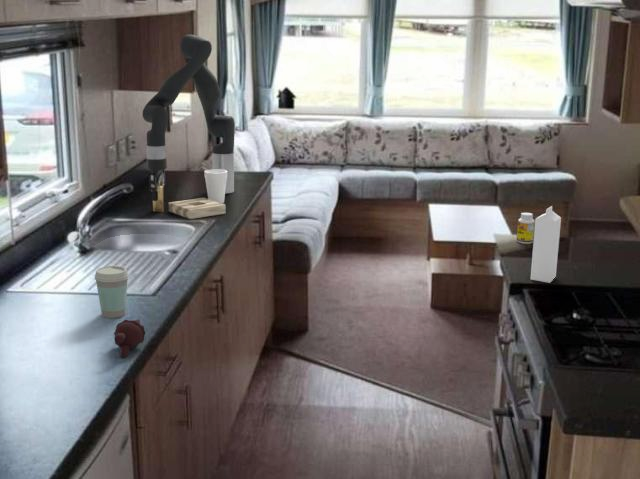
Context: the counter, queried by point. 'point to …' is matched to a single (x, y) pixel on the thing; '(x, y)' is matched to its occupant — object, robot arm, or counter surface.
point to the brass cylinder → (159, 201)
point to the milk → (545, 246)
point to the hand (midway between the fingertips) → (157, 198)
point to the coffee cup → (112, 290)
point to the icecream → (128, 335)
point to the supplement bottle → (525, 228)
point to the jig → (197, 208)
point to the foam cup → (216, 184)
